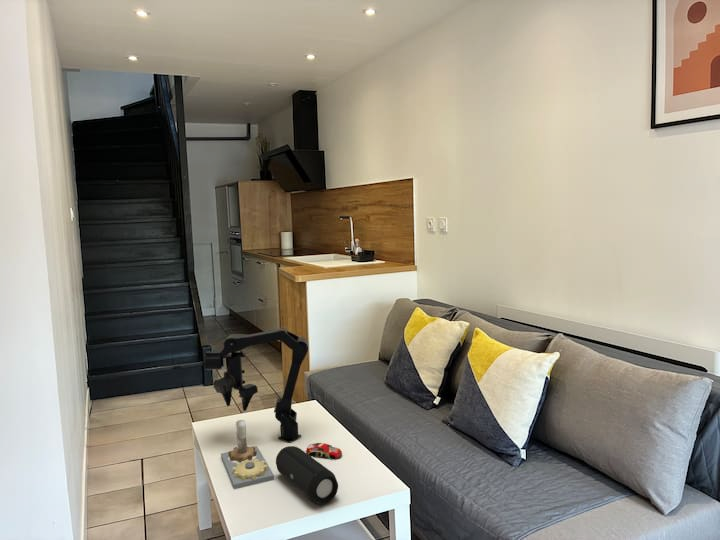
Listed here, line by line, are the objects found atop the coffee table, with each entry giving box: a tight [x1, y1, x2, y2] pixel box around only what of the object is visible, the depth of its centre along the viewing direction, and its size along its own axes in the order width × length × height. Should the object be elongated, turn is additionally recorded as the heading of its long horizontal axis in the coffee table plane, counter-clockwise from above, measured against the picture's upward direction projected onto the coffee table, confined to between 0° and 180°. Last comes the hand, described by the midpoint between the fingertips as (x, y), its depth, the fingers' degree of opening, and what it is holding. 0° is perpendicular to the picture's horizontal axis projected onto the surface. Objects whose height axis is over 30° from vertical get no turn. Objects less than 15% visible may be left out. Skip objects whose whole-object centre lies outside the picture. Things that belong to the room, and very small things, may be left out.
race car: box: [305, 442, 343, 460], centre depth 192 cm, size 13×5×4 cm, turn 70°
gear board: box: [220, 445, 275, 490], centre depth 184 cm, size 24×13×4 cm, turn 24°
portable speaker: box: [275, 445, 339, 505], centre depth 170 cm, size 26×10×10 cm, turn 35°
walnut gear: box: [227, 419, 257, 463], centre depth 189 cm, size 10×10×12 cm
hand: (236, 408), depth 204 cm, fingers open, 9 cm apart
